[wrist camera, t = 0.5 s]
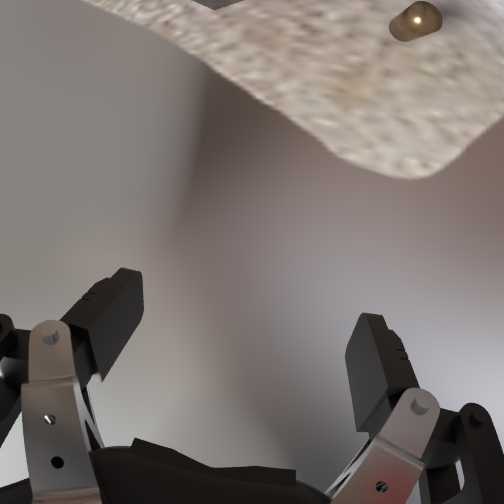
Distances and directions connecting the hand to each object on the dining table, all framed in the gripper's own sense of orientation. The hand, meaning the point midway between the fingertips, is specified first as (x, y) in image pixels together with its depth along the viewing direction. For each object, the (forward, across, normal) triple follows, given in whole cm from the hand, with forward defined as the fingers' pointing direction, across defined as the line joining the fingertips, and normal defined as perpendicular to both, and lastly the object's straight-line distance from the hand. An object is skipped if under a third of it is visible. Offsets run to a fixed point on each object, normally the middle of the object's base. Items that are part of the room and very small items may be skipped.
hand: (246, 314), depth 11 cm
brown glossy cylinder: (+23, -11, -21) cm, 33 cm away
